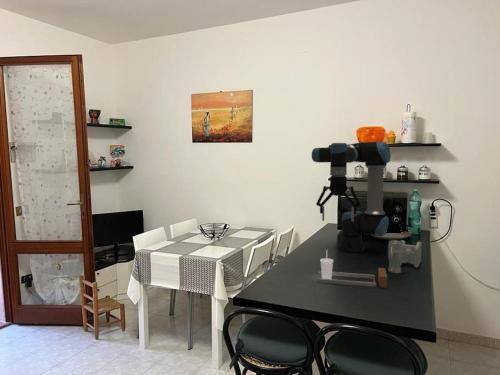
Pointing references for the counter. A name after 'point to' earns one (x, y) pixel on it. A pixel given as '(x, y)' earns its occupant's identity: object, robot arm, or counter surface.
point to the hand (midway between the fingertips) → (337, 220)
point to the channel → (381, 277)
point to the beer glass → (395, 256)
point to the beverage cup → (326, 267)
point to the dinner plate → (394, 236)
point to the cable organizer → (411, 254)
